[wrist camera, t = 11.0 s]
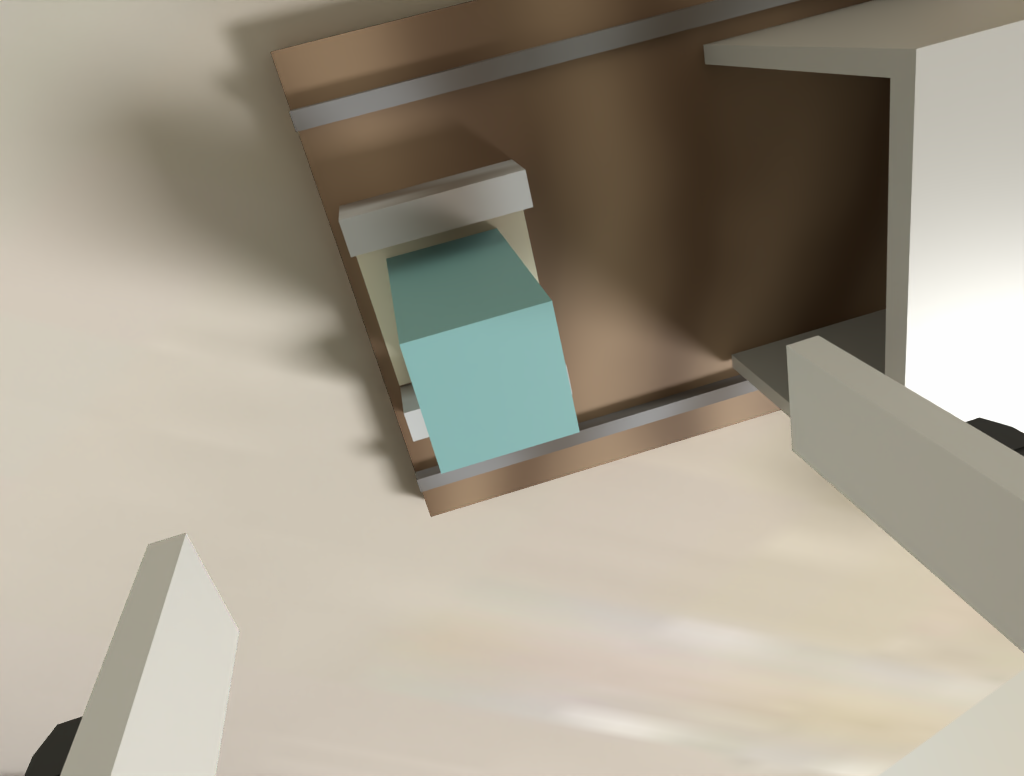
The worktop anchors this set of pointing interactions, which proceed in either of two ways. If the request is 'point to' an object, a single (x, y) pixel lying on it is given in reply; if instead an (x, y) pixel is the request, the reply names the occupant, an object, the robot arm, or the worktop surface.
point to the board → (602, 200)
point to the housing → (927, 195)
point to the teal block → (480, 349)
